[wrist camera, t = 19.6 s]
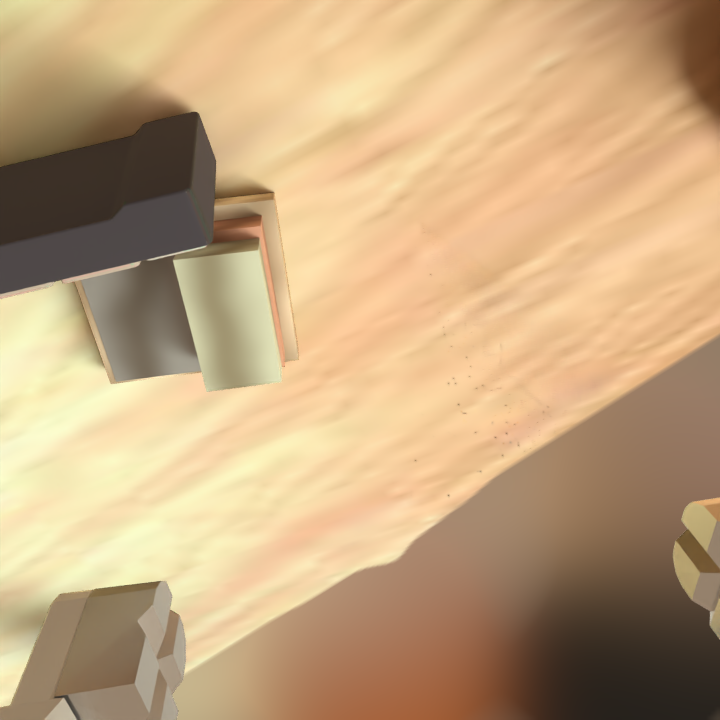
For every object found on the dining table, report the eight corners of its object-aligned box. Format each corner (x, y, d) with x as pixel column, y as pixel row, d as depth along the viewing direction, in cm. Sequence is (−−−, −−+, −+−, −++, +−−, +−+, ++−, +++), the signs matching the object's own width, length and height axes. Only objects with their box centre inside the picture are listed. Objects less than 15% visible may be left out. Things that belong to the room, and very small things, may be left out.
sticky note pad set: (274, 192, 42) (272, 220, 36) (298, 348, 49) (300, 393, 43) (63, 215, 42) (26, 248, 36) (117, 371, 48) (93, 420, 42)
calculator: (-35, 315, 34) (218, 256, 34) (-88, 254, 31) (190, 189, 31) (15, 218, 42) (220, 169, 41) (-23, 162, 38) (198, 109, 38)
